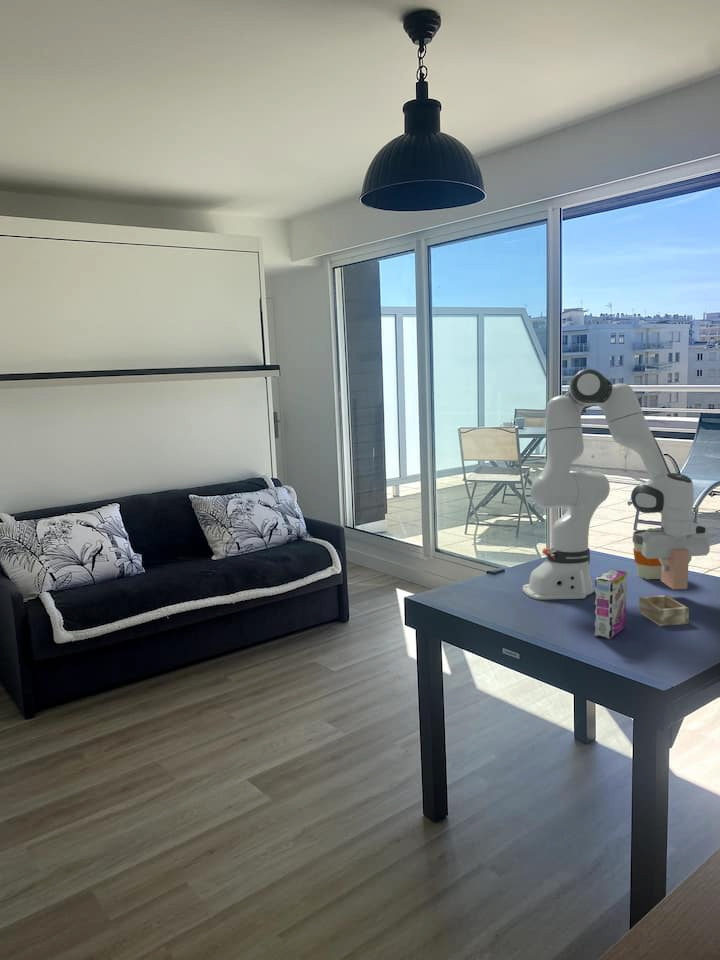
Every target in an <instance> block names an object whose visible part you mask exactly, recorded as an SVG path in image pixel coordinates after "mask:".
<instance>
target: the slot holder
mask: <svg viewBox="0 0 720 960" xmlns="http://www.w3.org/2000/svg"><path fill="white" fill-rule="evenodd" d="M638 599H639V601H638V607H639V608H638V612H639V613H640V614H641V615H643V617H646V618H647V619H649V620H650V621H652V622H653V623H655V624H656V625H658V626H659V627H664V626H667V627H668V626H676V625H677V626H678V625H687V624H689V623H690V622H689V621H690V620H689V619H690V618H689V616H690V615H689V613H690V608H689V607H688V606H686V605H684V604H683V603H681V602H679V601H677V600H676V599H674V598H673V597H671V596H670V595H667V594H663V595H652V596H651V595H650V596H640V597H639V598H638Z"/></svg>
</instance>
